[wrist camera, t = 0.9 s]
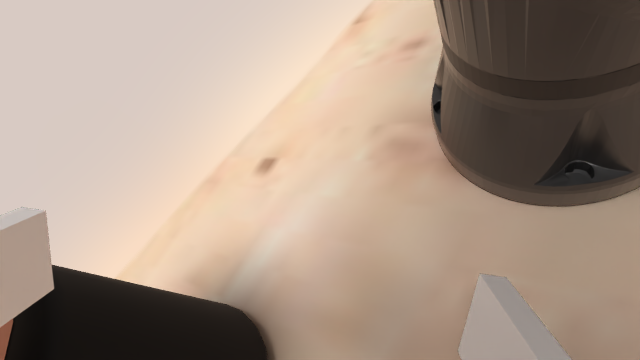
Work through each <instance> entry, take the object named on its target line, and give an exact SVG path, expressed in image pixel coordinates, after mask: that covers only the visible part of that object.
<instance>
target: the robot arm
mask: <svg viewBox="0 0 640 360" xmlns="http://www.w3.org/2000/svg"><path fill="white" fill-rule="evenodd" d="M433 1H434V5H435V10H436V14H437V19H438V24H439V27H440V32H441V37H442V42H443V48H442V53H441V57H440V62H439V66H438V70H437V75H436V79H435V84H434V88H433V93H432V101H431V111H432V119H433V124H434V128H435V131H436V134H437V137H438V140H439V143H440V146H441V148H442V150H443V152H444V154H445V155H446V157H447V158H448V160H449V161H450V163H451V164H452V165H453V166H454V167H455V168H456V169H457V170H458V171H459V172H460V173H461V174H462V175H463V176H464V177H466V178H467V179H468V180H469V181H471V182H472V183H474V184H475V185H477V186H479V187H481V188H482V189H484V190H486V191H488V192H491V193H493V194H495V195H498V196H500V197H504V198H507V199H510V200H514V201H518V202H523V203H528V204H535V205H546V206H569V205H580V204H587V203H593V202H598V201H602V200H606V199H610V198H613V197H616V196H619V195H622V194H625V193H627V192H630V191H632V190H634V189H636V188H638V187H640V0H433ZM53 289H54V283H53V274H52V264H51V255H50V245H49V236H48V227H47V217H46V211H45V210H39V209H31V208H24V207H21V208H18V209H15V210H13V211H10V212H8V213H5V214H3V215H0V327H2V326H3V325H4V324H6V323H7V322H9V321H10V320H11V319H13V318H14V317H15V316H17V315H18V314H20V313H21V312H22V311H24V310H25V309H27V308H28V307H29V306H31V305H32V304H34V303H35V302H36V301H38V300H39V299H41V298H42V297H43V296H45V295H46V294H48V293H49V292H50V291H52V290H53ZM458 353H459V355H460V357H461V360H572V359H571V358H570V356H569V355H568V354H567V353H566V351H565V350H564V349H563V348H562V346H561V345H560V344H559V343H558V341H557V340H556V339H555V338H554V336H553V335H552V334H551V333H550V331H549V330H548V329H547V328H546V326H545V325H544V324H543V323H542V321H541V320H540V319H539V318H538V316H537V315H536V314H535V313H534V311H533V310H532V309H531V308H530V306H529V305H528V304H527V303H526V301H525V300H524V299H523V298H522V296H521V295H520V294H519V293H518V291H517V290H516V289H515V288H514V286H513V285H512V284H511V283H510V281H509V280H508V279H507V278H506V277H500V276H493V275H486V274H479V278H478V281H477V285H476V288H475V292H474V295H473V299H472V302H471V306H470V310H469V313H468V317H467V320H466V324H465V327H464V331H463V334H462V338H461V341H460V345H459V349H458Z"/></svg>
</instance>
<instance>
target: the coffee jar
mask: <svg viewBox="0 0 640 360" xmlns="http://www.w3.org/2000/svg"><path fill="white" fill-rule="evenodd" d="M52 274H53V283H54V289H53V290H52V291H50V292H49V293H48V294H46V295H45V296H43V297H42V298H41V299H39V300H38V301H36V302H35V303H34V304H32V305H31V306H29V307H28V308H27V309H25V310H24V311H22V312H21V313H20V314H18V315H17V316H15V317H14V318H13V319H11V320H10V321H9V322H7V323H6V324H4V325H3V326H2V327H0V360H267V353H266V347H265V345H264V343H263V340H262V338H261V336H260V334H259V331H258V329H257V327H256V326H255V325H254V323H253V322H252V321H251V320H250V319H249V318H248V317H247V316H246V315H245V314H244V313H243V312H242V311H240V310H238V309H236V308H233V307H231V306H229V305H226V304H222V303H218V302H213V301H209V300H204V299H200V298H196V297H191V296H187V295H182V294H178V293H174V292H169V291H165V290H160V289H156V288H152V287H147V286H143V285H138V284H134V283H130V282H125V281H121V280H116V279H112V278H108V277H103V276H99V275H94V274H90V273H86V272H81V271H77V270H73V269H68V268H64V267H59V266H55V265H52Z"/></svg>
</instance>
